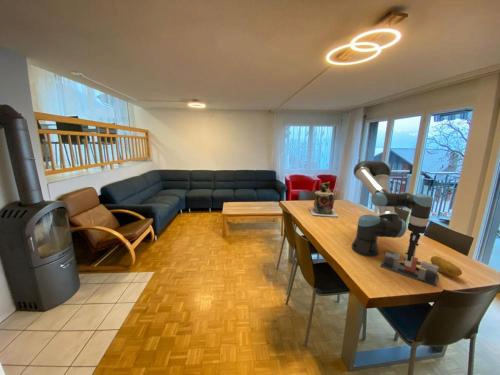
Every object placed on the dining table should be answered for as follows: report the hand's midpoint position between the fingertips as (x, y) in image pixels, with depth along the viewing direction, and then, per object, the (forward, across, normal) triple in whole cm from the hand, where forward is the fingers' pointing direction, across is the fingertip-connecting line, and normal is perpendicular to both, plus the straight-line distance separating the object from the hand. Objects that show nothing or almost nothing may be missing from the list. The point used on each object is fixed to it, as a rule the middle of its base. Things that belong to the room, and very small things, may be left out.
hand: (409, 260), depth 112 cm
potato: (+6, +12, -14) cm, 20 cm away
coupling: (+5, -1, -1) cm, 5 cm away
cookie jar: (+9, +61, +76) cm, 98 cm away
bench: (+6, 0, 0) cm, 6 cm away
